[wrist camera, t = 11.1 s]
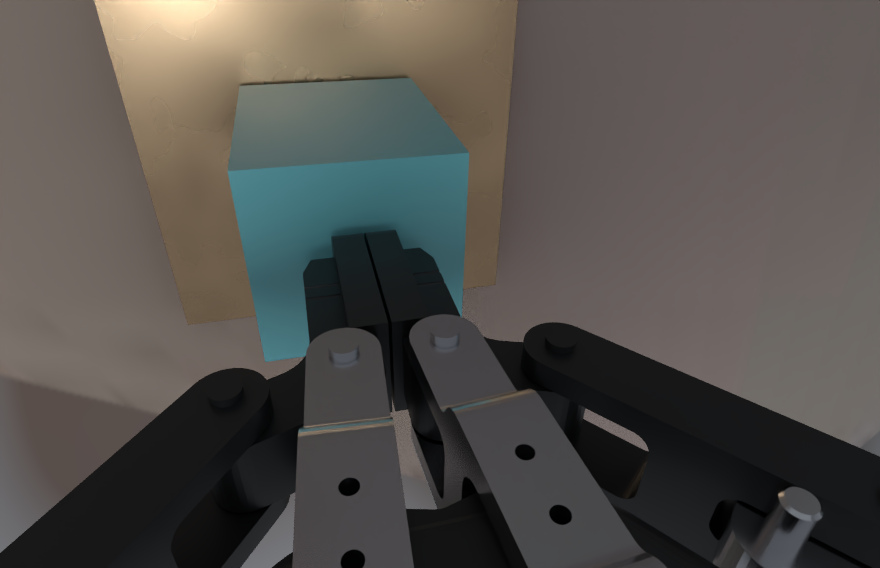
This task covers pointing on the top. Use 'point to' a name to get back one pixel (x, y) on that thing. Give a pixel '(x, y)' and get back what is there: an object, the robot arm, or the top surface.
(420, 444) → the robot arm
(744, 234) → the top surface
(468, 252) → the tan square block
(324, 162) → the turquoise rectangular block
